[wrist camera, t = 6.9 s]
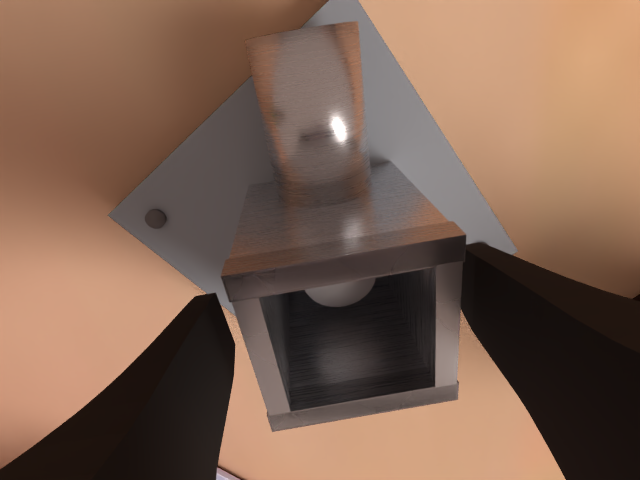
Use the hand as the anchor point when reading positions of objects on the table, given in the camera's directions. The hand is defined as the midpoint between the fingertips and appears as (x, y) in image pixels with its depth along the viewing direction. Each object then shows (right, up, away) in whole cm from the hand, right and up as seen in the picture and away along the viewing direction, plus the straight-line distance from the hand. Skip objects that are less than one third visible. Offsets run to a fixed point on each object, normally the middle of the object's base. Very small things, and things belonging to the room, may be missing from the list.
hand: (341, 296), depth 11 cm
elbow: (-1, +4, +2) cm, 5 cm away
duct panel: (0, +2, +4) cm, 5 cm away
